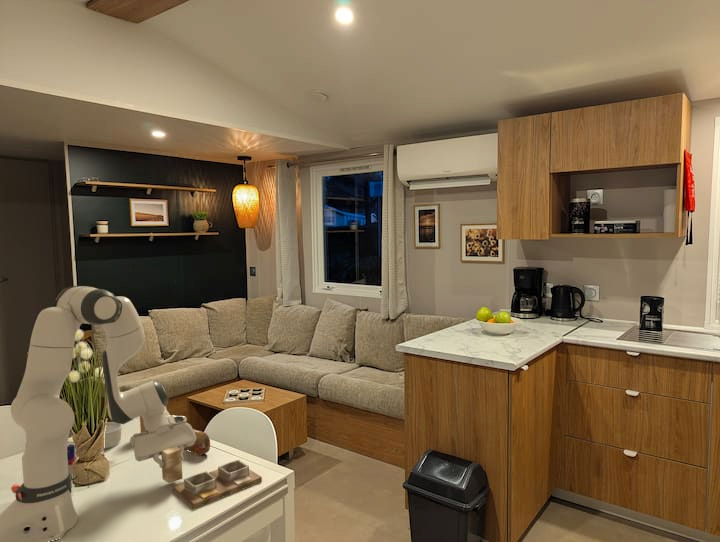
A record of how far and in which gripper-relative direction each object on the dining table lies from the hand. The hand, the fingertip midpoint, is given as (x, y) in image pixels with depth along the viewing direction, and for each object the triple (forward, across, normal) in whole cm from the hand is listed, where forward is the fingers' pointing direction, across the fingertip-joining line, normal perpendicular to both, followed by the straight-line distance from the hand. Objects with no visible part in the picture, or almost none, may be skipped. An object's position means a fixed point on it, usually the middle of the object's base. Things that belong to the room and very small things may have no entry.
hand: (172, 463), depth 169 cm
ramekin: (-32, -6, +43) cm, 55 cm away
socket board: (+13, +10, -3) cm, 17 cm away
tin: (-8, +17, +19) cm, 27 cm away
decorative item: (-29, +11, +40) cm, 50 cm away
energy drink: (-17, -24, +28) cm, 40 cm away
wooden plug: (+3, 0, +4) cm, 5 cm away
